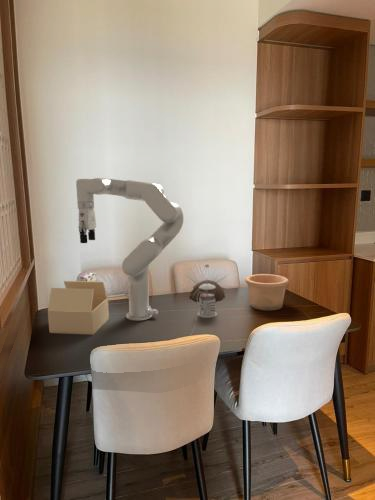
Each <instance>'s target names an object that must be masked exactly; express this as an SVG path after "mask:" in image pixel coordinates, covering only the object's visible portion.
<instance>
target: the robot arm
mask: <svg viewBox="0 0 375 500" xmlns="http://www.w3.org/2000/svg"><path fill="white" fill-rule="evenodd" d="M75 183H76V184H75V185H76V200H77V203H76V204H77V210H78V226H77V227H78V232H79V239H80V240H79V241H80V244H88V241H95V240H96V227H97V223H96V222H97V221H96V212H95V200H94V199H95V197H94V195H99V196H100V195H110V196H118V197H123V198H125V199H127V200H133V201H141V202H145V203H146V205H147V206H148V208H150V209H151V211H153V213H154V214H155V215H156V216H157V218H158V219H160V221H161V222H163V223H162V224H161V225H160V226H159V227H157V229H156V230H155V231H154V232H153V233H152V234H151V235H150V236H148V237H147V238H145V239H144V240H143V241H142V240H141V242H140V243H138V245H137V246H136V247H135V248H134V249H133V250H132V251H131V252H130V253H129V254H128V255H127V256H126V257H125V258H124V259H123V261H122V264H121V269H122V272H123V273H124V274H125V275H126V276H127V278H128V279H127V280H128V283H127V284H128V286H127V287H128V288H127V289H128V306H129V307H128V308H129V309H128V311H129V312H127V313H126V315H125V317H126V319H128V321H137V322H139V321H141V322H142V321H146V320H148V319H151V318H152V317H153V315H158V314H159V311H158V309H156V308H151V305H150V300H149V299H150V296H149V295H150V294H149V270H150V269H149V268H150V266H149V265H151V263H152V262H153V261H154V260H155V259H156V258H157V257H159V255H160V254H161V253H162V252H163V250H164V249H166V247H167V246H168V245H170V243H171V242H172V241H173V240H175V238H176V236H178V235H179V233H180V231H181V230H182V227H183V224H184V213H183V209H182V208H181V206H180V205H179V204H177V203H175V202H171V201H170V200H169V199H168V197H166V195H165V191H164V187H163V186H162V185H161V184H158V183H153V182H146V181H136V180H121V179H114V178H107V177H105V178H104V177H95V178H78V179H77V180H76V182H75Z"/></svg>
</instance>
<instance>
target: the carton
mask: <svg viewBox="0 0 375 500" xmlns="http://www.w3.org/2000/svg"><path fill="white" fill-rule="evenodd" d="M108 298H109V297H107V298H93V300H92V309H91V312H75V311H48V310H47V318H48V319H47V320H48V330H49V334H69V335H72V334H73V335H94V334H96V333H97V332H98V330H100V329H101V327H103V326H104V324H106V322H107V321H108V320H109V319H110V315H109V309H110V308H109V299H108Z"/></svg>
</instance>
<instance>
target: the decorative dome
mask: <svg viewBox="0 0 375 500" xmlns="http://www.w3.org/2000/svg"><path fill="white" fill-rule="evenodd" d="M207 283H208V284H212V285H214V286H215V289H212V290H202V289H200V288H199V286H201V285H203V284H207ZM200 291H201V292H200ZM199 292H200V293H199ZM202 292H204V293H211V294H214V295H215V296H214V297H215V302H217V301H218V302H219V301H222V300H223V299H225V298H226V296H225V291H224V289H223V287H222V286H220V284H219V283H217V282H216V281H214V280H209V279H206V280H201V281H200V282H198V283H196V284H195V285H194V286H193V289H192V290H191V291H190V294H189V297H190V298H191V300H192V299H193V301H196V302H197V301H198V302H199V298H200V294H201V293H202ZM198 293H199V294H198ZM202 294H203V293H202ZM197 296H198V298H197ZM201 300H202V301H203V299H201Z"/></svg>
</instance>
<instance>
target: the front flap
mask: <svg viewBox="0 0 375 500" xmlns="http://www.w3.org/2000/svg"><path fill="white" fill-rule="evenodd" d="M93 290H94V289H73V288H66V287H62V288H61V287H51V288H50V295H49V301H48V307H47V312H48V311H75V312H91V309H92V300H93Z"/></svg>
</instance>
